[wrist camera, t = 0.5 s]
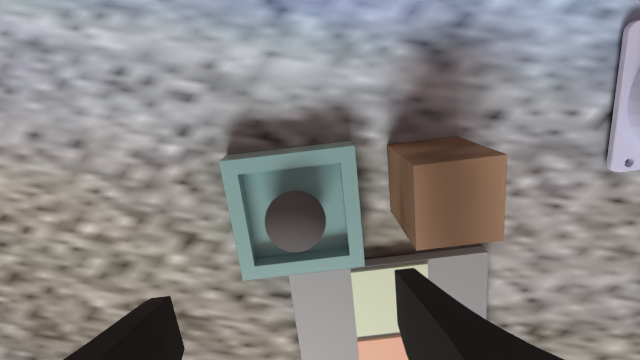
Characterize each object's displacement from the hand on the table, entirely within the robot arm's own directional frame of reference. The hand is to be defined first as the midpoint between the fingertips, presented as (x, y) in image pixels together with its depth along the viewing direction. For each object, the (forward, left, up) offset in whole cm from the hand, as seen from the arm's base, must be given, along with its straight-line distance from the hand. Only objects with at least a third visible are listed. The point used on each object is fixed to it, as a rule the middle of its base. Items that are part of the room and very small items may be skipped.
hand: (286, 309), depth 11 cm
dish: (0, 0, -9) cm, 9 cm away
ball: (0, 0, -9) cm, 9 cm away
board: (-5, +9, -9) cm, 14 cm away
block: (-7, -1, -10) cm, 12 cm away
